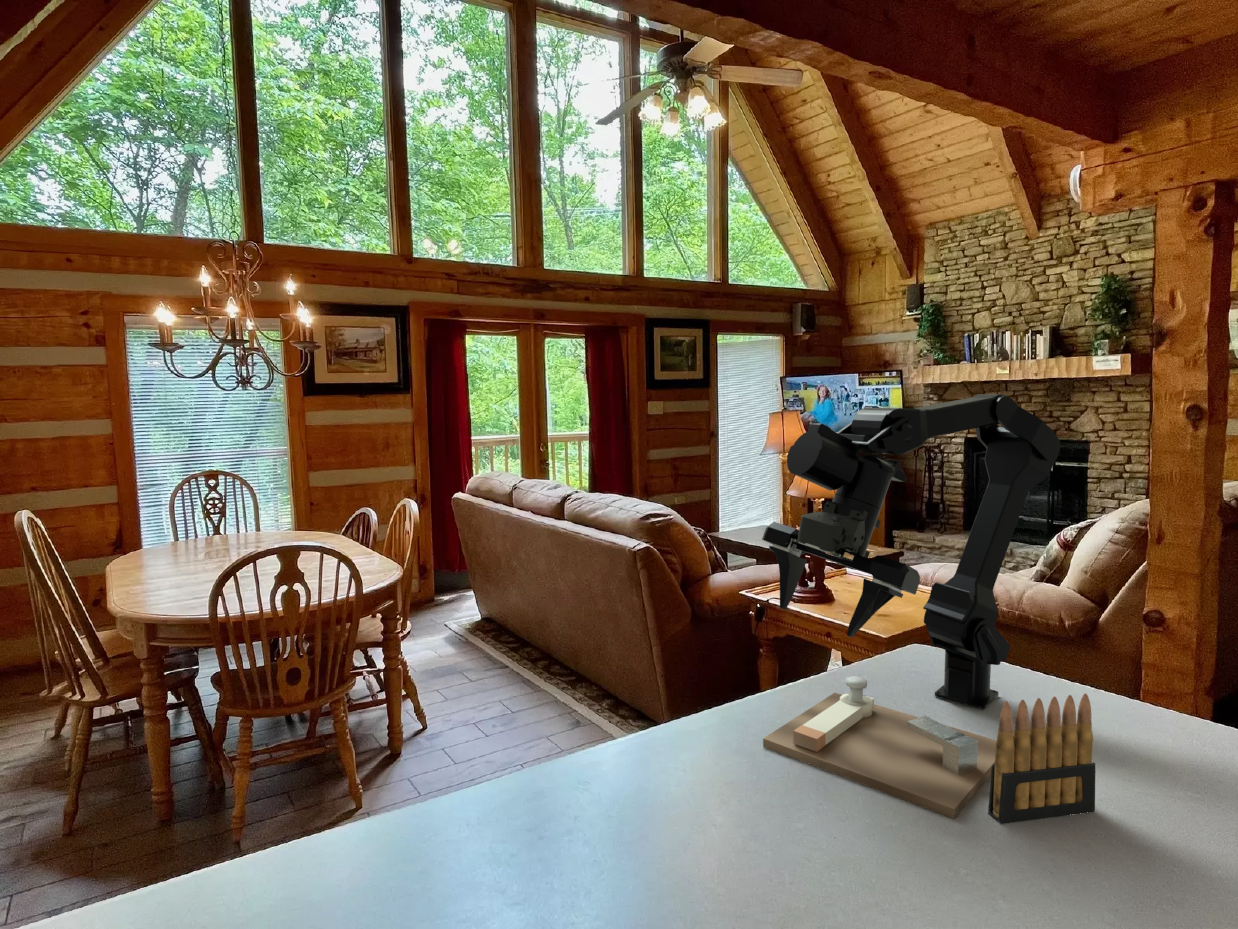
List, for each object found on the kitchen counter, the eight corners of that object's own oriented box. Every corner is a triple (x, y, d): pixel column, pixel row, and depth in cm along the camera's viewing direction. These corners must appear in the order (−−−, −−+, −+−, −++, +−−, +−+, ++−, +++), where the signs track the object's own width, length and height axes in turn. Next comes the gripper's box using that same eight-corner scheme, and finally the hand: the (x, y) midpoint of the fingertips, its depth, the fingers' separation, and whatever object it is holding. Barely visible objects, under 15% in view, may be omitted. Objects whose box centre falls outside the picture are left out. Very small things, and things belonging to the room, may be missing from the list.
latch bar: (848, 702, 96) (849, 672, 96) (877, 711, 93) (878, 679, 93) (789, 742, 85) (789, 708, 85) (820, 753, 82) (821, 718, 82)
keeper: (924, 741, 85) (925, 715, 85) (977, 768, 79) (978, 741, 79) (906, 746, 84) (906, 721, 84) (958, 774, 78) (959, 747, 77)
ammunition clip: (1080, 801, 74) (1086, 689, 73) (1095, 812, 72) (1101, 696, 71) (987, 813, 72) (991, 698, 71) (1000, 824, 70) (1004, 706, 69)
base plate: (834, 699, 100) (834, 692, 99) (1009, 752, 84) (1009, 744, 84) (763, 746, 87) (763, 738, 86) (954, 818, 71) (954, 809, 71)
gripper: (763, 468, 90) (720, 586, 89) (909, 507, 77) (861, 645, 76) (801, 491, 98) (762, 599, 97) (939, 529, 86) (896, 654, 85)
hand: (814, 622), depth 89 cm, fingers open, 9 cm apart
